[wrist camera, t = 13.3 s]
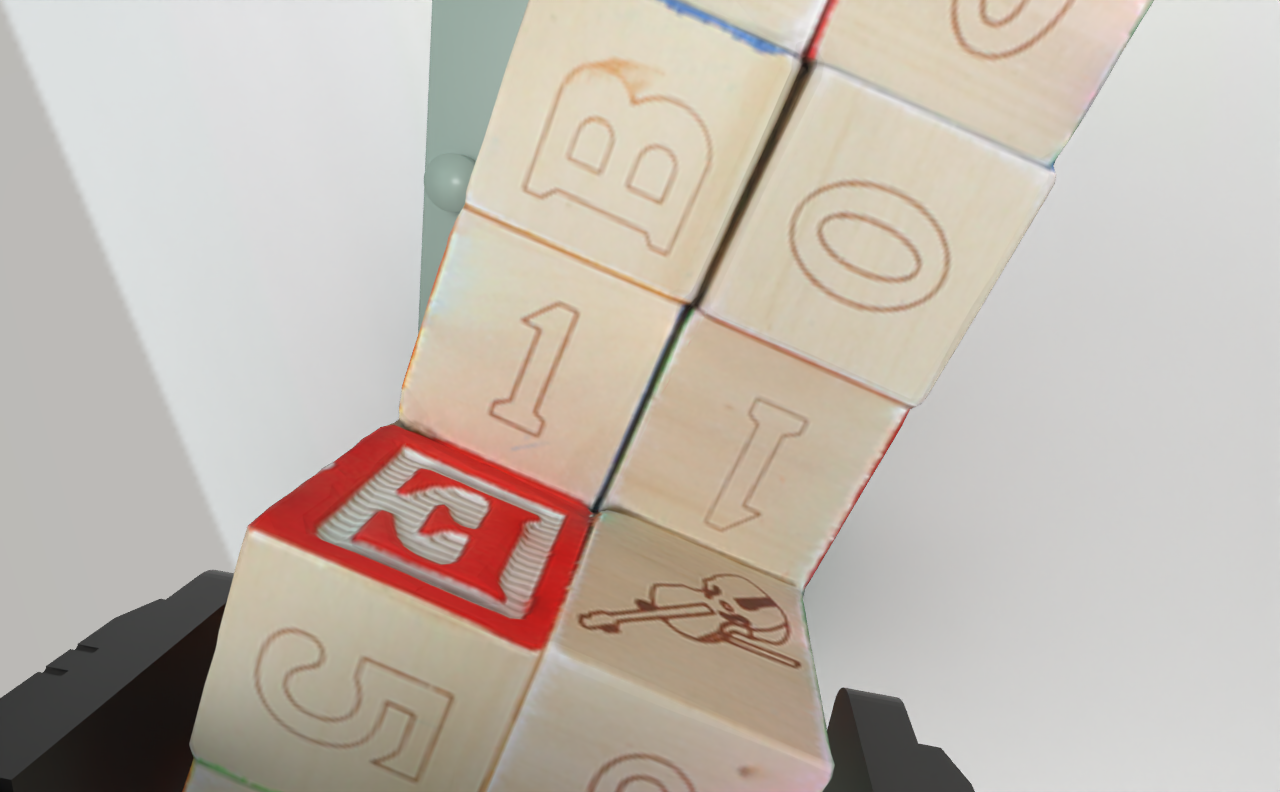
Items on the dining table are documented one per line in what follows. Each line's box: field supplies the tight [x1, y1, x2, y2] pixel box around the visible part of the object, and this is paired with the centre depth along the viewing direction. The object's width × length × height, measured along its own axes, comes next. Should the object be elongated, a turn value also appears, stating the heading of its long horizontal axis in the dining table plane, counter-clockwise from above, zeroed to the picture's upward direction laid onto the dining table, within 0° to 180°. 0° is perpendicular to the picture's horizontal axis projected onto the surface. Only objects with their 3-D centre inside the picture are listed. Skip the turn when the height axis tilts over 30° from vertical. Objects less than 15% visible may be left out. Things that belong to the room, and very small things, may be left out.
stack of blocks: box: [182, 0, 1154, 792], centre depth 13 cm, size 21×6×12 cm, turn 156°
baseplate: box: [418, 0, 805, 599], centre depth 20 cm, size 12×24×2 cm, turn 172°
